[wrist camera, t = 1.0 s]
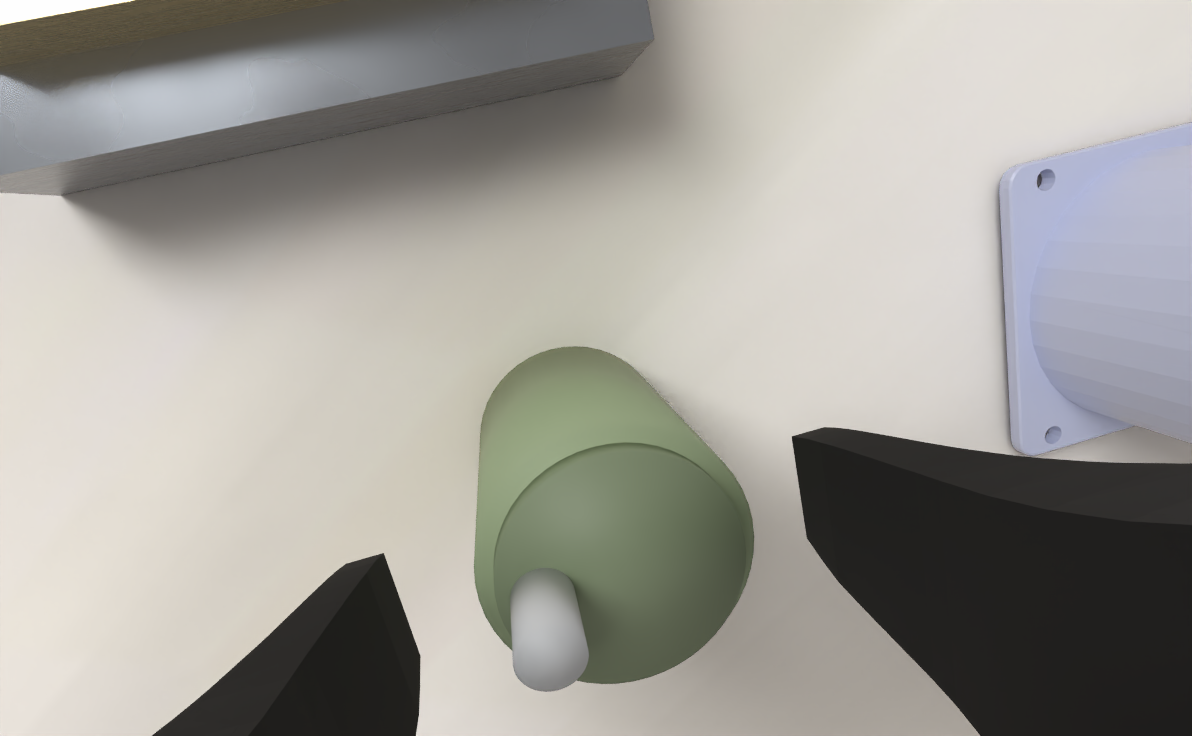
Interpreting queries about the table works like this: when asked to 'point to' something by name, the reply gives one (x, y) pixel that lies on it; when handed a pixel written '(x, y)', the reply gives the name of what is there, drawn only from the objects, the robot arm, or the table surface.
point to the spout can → (601, 524)
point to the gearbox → (270, 74)
